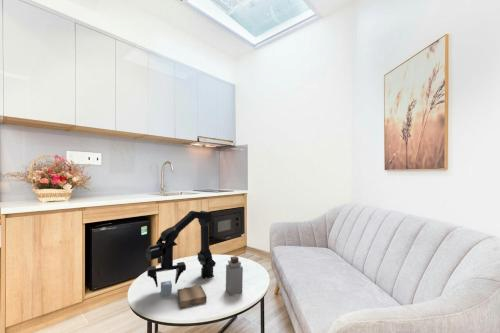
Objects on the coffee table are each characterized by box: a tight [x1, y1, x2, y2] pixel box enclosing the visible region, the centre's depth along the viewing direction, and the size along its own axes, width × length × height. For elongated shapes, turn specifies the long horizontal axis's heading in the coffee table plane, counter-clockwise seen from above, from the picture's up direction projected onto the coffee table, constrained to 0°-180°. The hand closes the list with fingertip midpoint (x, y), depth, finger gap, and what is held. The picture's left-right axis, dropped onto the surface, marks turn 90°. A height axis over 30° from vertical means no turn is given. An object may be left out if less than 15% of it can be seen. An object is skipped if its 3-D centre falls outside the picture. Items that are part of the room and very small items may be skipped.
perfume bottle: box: [225, 255, 244, 297], centre depth 121 cm, size 7×7×18 cm
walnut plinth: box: [176, 284, 208, 309], centre depth 113 cm, size 12×12×3 cm
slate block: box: [160, 280, 173, 297], centre depth 118 cm, size 5×5×5 cm
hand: (166, 285), depth 118 cm, fingers open, 9 cm apart
